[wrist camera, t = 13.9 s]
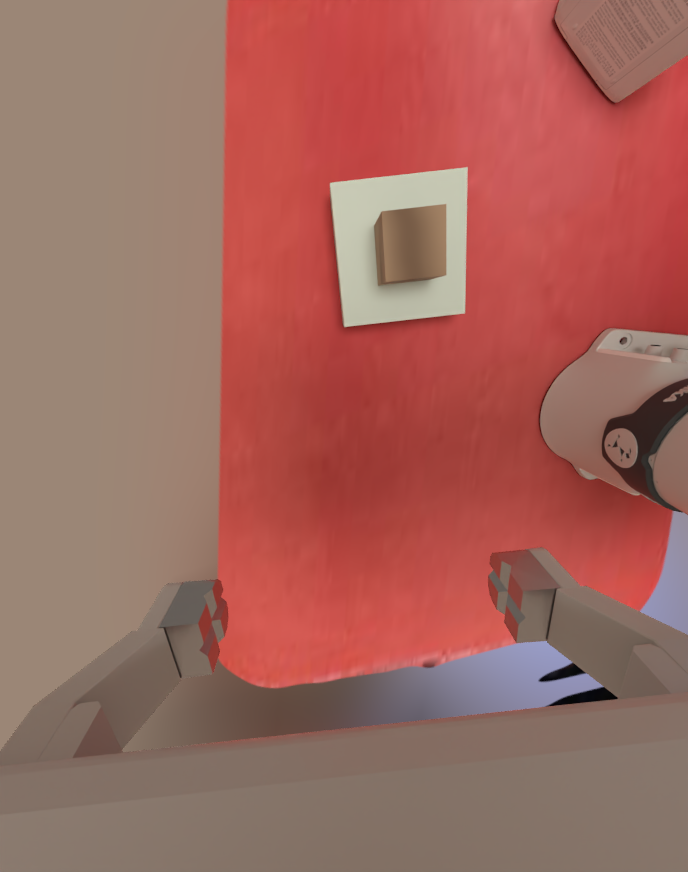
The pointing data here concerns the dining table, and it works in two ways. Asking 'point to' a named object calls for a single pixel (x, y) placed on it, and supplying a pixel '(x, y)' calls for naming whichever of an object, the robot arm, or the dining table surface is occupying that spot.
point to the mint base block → (357, 255)
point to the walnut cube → (410, 244)
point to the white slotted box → (624, 39)
